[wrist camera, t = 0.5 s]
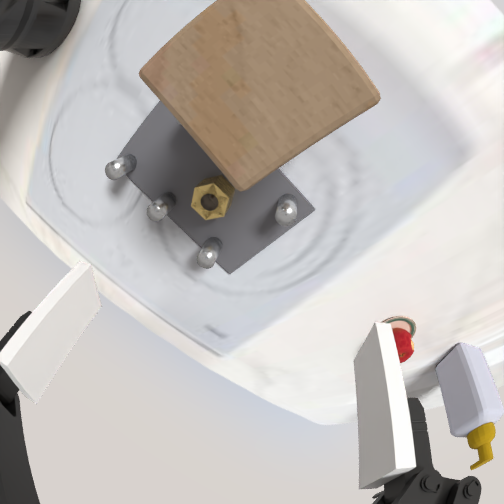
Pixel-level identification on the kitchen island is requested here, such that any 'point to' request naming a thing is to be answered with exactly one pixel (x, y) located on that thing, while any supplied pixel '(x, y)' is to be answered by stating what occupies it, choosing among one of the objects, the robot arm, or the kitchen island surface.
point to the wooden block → (258, 84)
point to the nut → (212, 197)
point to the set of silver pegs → (168, 200)
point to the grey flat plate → (191, 174)
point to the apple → (403, 336)
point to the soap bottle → (470, 398)
